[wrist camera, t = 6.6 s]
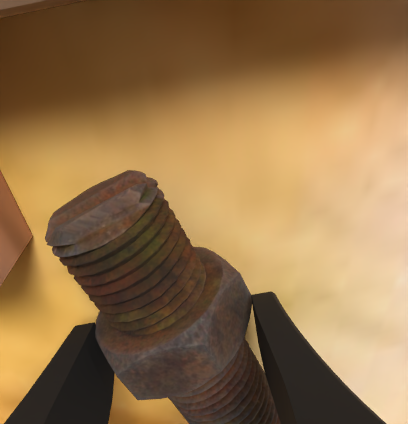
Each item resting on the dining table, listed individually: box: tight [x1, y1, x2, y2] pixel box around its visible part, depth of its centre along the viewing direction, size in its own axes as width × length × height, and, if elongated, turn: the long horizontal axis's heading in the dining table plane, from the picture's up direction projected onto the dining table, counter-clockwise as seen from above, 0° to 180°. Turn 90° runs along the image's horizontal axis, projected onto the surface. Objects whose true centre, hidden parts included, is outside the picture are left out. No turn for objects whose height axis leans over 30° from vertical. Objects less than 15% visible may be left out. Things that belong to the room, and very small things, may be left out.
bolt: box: [45, 170, 281, 424], centre depth 13 cm, size 6×5×15 cm
